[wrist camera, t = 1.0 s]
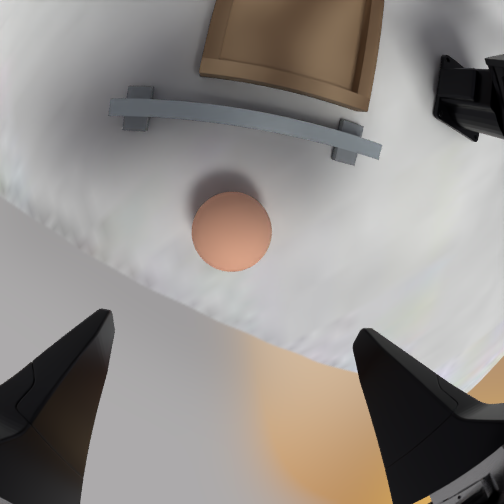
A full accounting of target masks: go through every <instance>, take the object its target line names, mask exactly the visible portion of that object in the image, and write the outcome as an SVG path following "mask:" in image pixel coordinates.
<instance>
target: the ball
mask: <svg viewBox="0 0 504 504" xmlns="http://www.w3.org/2000/svg"><path fill="white" fill-rule="evenodd" d="M271 236H272V228H271V222H270V219H269V216H268V214H267V212H266V210H265V209H264V207H263V206H262V205H261V204H260V203H259V202H258V201H257V200H255V199H254V198H253V197H251V196H249V195H246V194H243V193H240V192H224V193H220V194H217V195H215V196H213V197H211V198H210V199H208V200H207V201H206V202H205V203H203V205H202V206H201V207H200V208H199V210H198V211H197V213H196V215H195V217H194V220H193V224H192V240H193V243H194V246H195V249H196V251H197V252H198V254H199V255H200V257H201V258H202V259H203V260H204V261H205V262H206V263H207V264H209V265H210V266H212V267H214V268H216V269H219V270H222V271H227V272H235V271H241V270H245V269H247V268H250V267H251V266H253V265H254V264H256V263H257V262H258V261H259V260H260V259H261V258H262V257H263V256H264V255H265V253H266V251H267V249H268V247H269V245H270V241H271Z"/></svg>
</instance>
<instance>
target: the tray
mask: <svg viewBox="0 0 504 504" xmlns="http://www.w3.org/2000/svg"><path fill="white" fill-rule="evenodd" d="M383 9H384V0H216V3H215V7H214V10H213V14H212V18H211V22H210V26H209V30H208V34H207V38H206V42H205V46H204V51H203V55H202V60H201V65H200V69H199V74H200V76H202V77H211V78H219V79H226V80H233V81H239V82H245V83H251V84H256V85H262V86H267V87H271V88H276V89H281V90H285V91H289V92H293V93H297V94H301V95H305V96H309V97H312V98H316V99H319V100H323V101H326V102H330V103H333V104H336V105H339V106H342V107H345V108H348V109H351V110H354V111H360V112H367V111H368V107H369V102H370V96H371V91H372V86H373V80H374V74H375V69H376V62H377V56H378V49H379V42H380V35H381V27H382V18H383Z"/></svg>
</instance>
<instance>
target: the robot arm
mask: <svg viewBox="0 0 504 504" xmlns="http://www.w3.org/2000/svg"><path fill="white" fill-rule="evenodd" d="M446 60H447V61H446ZM485 61H486V64H487V65H488V67H489V69H474V68H464V67H463V66H461V65H460V64H459V63H458V62H456V61H455V60H454V59H452V58H451V57H450V56H448V55H443V56H442V57H441V67H440V76H439V83H438V91H437V97H436V104H435V109H434V116H435V118H436V119H438V120H439V121H441V122H443V123H444V124H446V125H448V126H449V127H451V128H453V129H454V130H456V131H457V132H459V133H461V134H462V135H464V136H465V137H467V138H468V139H470V140H471V141H474V142H477V141H478V137H479V133H483V134H486V135H490V136H494V137H497V138H501V139H504V54H503V55H497V56H492V57H488V58H485ZM439 113H440V116H439ZM114 333H115V328H114V323H113V315H112V311H111V310H107V309H99V310H97V311H96V312H94V313H93V314H92V315H91V316H89V317H88V318H87V319H85V320H84V321H83V322H81V323H80V324H79V325H77V326H76V327H75V328H74V329H72V330H71V331H70V332H68V333H67V334H66V335H65V336H63V337H62V338H61V339H59V340H58V341H57V342H55V343H54V344H53V345H52V346H51V347H49V348H48V349H47V350H45V351H44V352H43V353H42V354H41V355H39V356H38V357H37V358H36V359H34V360H33V363H32V362H30V363H29V364H28V365H27V366H26V367H25V368H23V369H22V370H21V371H19V372H18V373H17V374H16V375H14V376H13V377H11V378H10V379H9V380H7V381H6V382H4V383H3V384H1V385H0V504H80V499H81V492H82V484H83V476H84V471H85V465H86V459H87V454H88V449H89V444H90V439H91V434H92V430H93V425H94V421H95V417H96V413H97V409H98V405H99V401H100V397H101V394H102V390H103V386H104V383H105V379H106V375H107V371H108V365H109V359H110V354H111V349H112V344H113V339H114ZM353 352H354V357H355V361H356V366H357V370H358V375H359V379H360V383H361V387H362V390H363V393H364V396H365V399H366V403H367V406H368V409H369V412H370V416H371V419H372V423H373V426H374V430H375V433H376V437H377V440H378V444H379V448H380V452H381V455H382V459H383V463H384V467H385V471H386V475H387V480H388V484H389V488H390V492H391V497H392V501H393V504H413V503H415V502H417V501H419V500H421V499H423V498H425V497H427V496H429V495H430V498H431V500H432V502H430V503H428V504H504V403H500V404H486V403H482V402H480V401H478V400H476V399H475V398H473V397H471V396H470V395H468V394H467V393H465V392H463V391H462V390H460V389H458V388H457V387H455V386H454V385H452V384H450V383H449V382H447V381H446V380H445V379H443V378H442V377H440V376H439V375H437V374H436V373H435V372H433V371H432V370H430V369H429V368H427V367H426V366H425V365H423V364H422V363H420V362H419V361H418V360H416V359H415V358H413V357H412V356H410V355H409V354H408V353H406V352H405V351H403V350H402V349H401V348H399V347H398V346H396V345H395V344H393V343H392V342H391V341H389V340H388V339H386V338H385V337H383V336H382V335H381V334H379V333H378V332H376V331H375V330H373V329H372V328H363V329H361V330H360V332H359V334H358V336H357V338H356V339H355V341H354V343H353Z"/></svg>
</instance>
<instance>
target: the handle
mask: <svg viewBox="0 0 504 504" xmlns="http://www.w3.org/2000/svg"><path fill="white" fill-rule="evenodd" d="M153 91H154V87H152V86H129V87H128V93H127V99H111V101H110V108H109V116H124V122H123V130H132V131H148V123H149V117H159V118H173V119H185V120H195V121H204V122H212V123H220V124H227V125H234V126H240V127H246V128H252V129H258V130H264V131H269V132H274V133H279V134H284V135H289V136H293V137H298V138H302V139H306V140H311V141H315V142H319V143H323V144H327V145H330V146H334V151H333V156H332V159H333V160H335V161H339V162H343V163H347V164H350V165H355V161H356V157H357V153H359V154H362V155H365V156H368V157H372V158H375V159H378V160H379V156H380V152H381V147H382V145H381V144H378V143H376V142H373V141H370V140H367V139H364V138H361V136H362V132H363V127H364V126H361V125H358V124H355V123H352V122H349V121H346V120H340V125H339V129H338V130H335V129H331V128H328V127H324V126H321V125H317V124H313V123H309V122H305V121H301V120H297V119H293V118H288V117H284V116H279V115H274V114H269V113H264V112H259V111H253V110H248V109H242V108H235V107H229V106H222V105H214V104H206V103H197V102H187V101H174V100H159V99H152V97H153Z"/></svg>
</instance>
